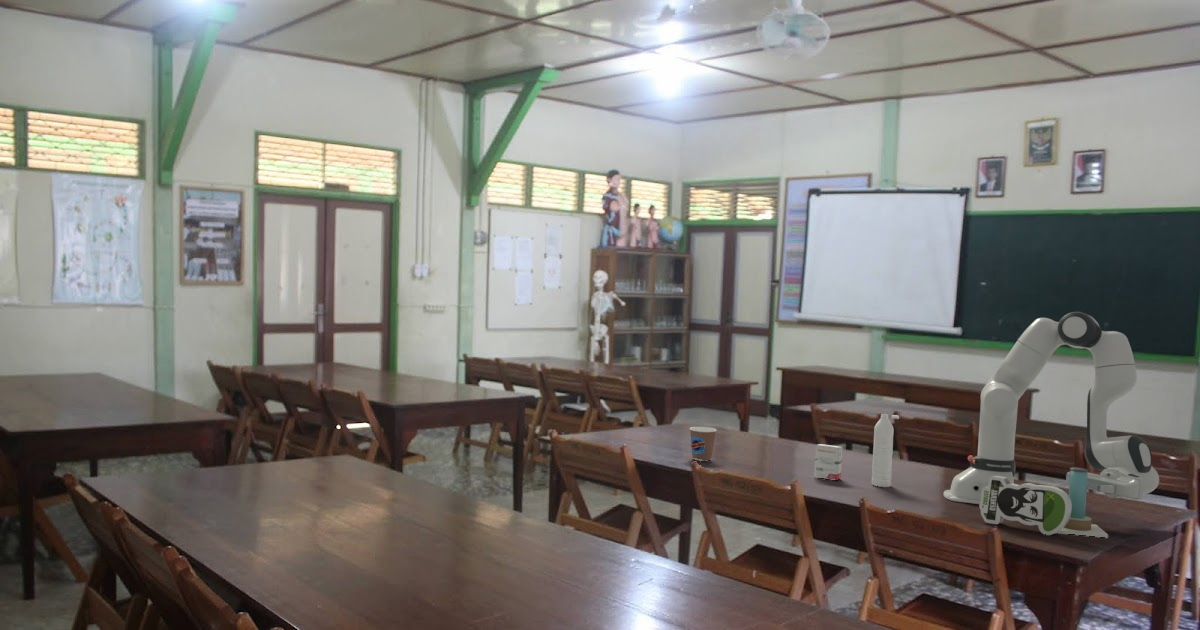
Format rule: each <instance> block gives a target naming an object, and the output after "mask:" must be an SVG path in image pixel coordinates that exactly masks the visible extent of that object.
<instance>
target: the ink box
mask: <svg viewBox="0 0 1200 630" xmlns="http://www.w3.org/2000/svg"><path fill="white" fill-rule="evenodd" d="M814 454H815V455H814V471H813V477H814V476H816V477H822V478H828V479H835V480H838V479H840V478H841V479H842V465H843V446H838V445H830V444H823V443H819V444H818V443H817V444H816V445H815V453H814ZM841 479H840V480H841ZM838 481H839V480H838Z"/></svg>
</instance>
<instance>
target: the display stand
mask: <svg viewBox="0 0 1200 630" xmlns="http://www.w3.org/2000/svg"><path fill="white" fill-rule="evenodd" d="M1092 521H1093V520H1092V517H1089V516H1087V515H1085V518H1084V519H1078V518H1072V517H1070V519H1069V521H1068V523H1067V524H1066V525H1065V526H1064V528H1062V529H1061V530H1060V531H1058V532H1057V533H1058V534H1059V535H1068V534H1075V535H1074V536H1079V535H1086V536H1085V537H1089V536H1095V537H1094V538H1100V537H1105V538H1104V539H1108V538H1109V534H1108V533H1107V532H1105V530H1103V529H1102V527H1100V526H1099V525H1097V524H1093V523H1092ZM1057 533H1056V534H1057Z"/></svg>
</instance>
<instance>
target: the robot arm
mask: <svg viewBox="0 0 1200 630" xmlns="http://www.w3.org/2000/svg"><path fill="white" fill-rule="evenodd" d="M1060 346H1065V347H1069V348H1073V349H1077V350H1088V351H1089V352H1090V353H1091V355H1092V360H1093V364H1094V376H1095V377H1094V381H1093V385H1092V387H1091V388H1090V389H1089V390H1088V393H1087V400H1086V402H1087V403H1086V404H1087V405H1086V406H1087V407H1086V440H1085V445H1084V446H1085V447H1084V451H1083V452H1084V458H1085V460H1086V462H1087V463H1088V464H1089V465H1090V467H1092V468H1093V469H1095V470H1096V471H1099V472H1100V473H1099V474H1097V473H1093V472H1089V471H1088V475H1087V489H1088V490H1093V491H1096V492H1100V493H1102V494H1103V495H1105V496H1106V497H1108V498H1111V499H1117V498H1120V499H1123V498H1124V499H1125V498H1126V499H1133V500H1142V499H1143V495H1147V494H1150V493H1152V492H1153V491H1155V489H1156V490H1157V487H1158V486H1159V484H1160V475H1159V473H1158V471H1157V470H1156V469H1155V468H1154V467H1153V456H1152V455H1153V454H1152V451H1151V448H1150V446H1149V444H1148V442H1146V440H1144V439H1143V438H1142V437H1140V436H1138V435H1136V434H1133V435H1123V436H1122V435H1121V436H1120V435H1119V436H1112V437H1108V436H1107V420H1108V419H1107V412H1108V411H1109V410H1108V409H1109V408H1110V406H1111V405H1112V404H1113V403H1114V402H1115V401H1117V400H1119V399H1120V398H1123V397H1124V396H1126V395H1127V394H1129V393H1130V391H1132V390H1133V389H1134V387H1135V386H1136V384H1137V378H1138V377H1137V368H1136V364H1135V363H1136V362H1135V358H1134V354H1133V351H1132V347H1131V345H1130V342H1129V339H1128V337H1127V336H1126V335H1125V334H1124V333H1122V332H1119V331H1115V330H1112V331H1111V330H1110V331H1109V330H1107V331H1105V330H1102V328H1101V326H1100V324H1099V323H1098V321H1097V320H1096V319H1095V318H1094V317H1093V316H1092V315H1089V314H1088V313H1084V312H1082V311H1072V312H1069V313H1067V314H1065V315H1064V316H1062V317H1061V318H1060V320H1059V321H1055V320H1053V319H1051V318H1047V317H1039V318H1036V319H1034V321H1033V322H1032V323H1031V324H1030V325H1028V327H1027V328H1026V329H1025V330H1024V331H1023V332H1022V334H1021V335H1020V336H1019V337H1018V338H1017V340H1016V342H1015V344H1014V345H1013V347H1012V348H1011V349H1010V351H1009V352H1008V353H1007V355H1006V356H1005V358H1004V359H1003V361H1002V362H1001V364H1000V365H998V367H997V369H996V370H995V371H994V373H993V374H992V375H991V376H990V378H989V379H988V381H987V382H986V384H985V385H984V387H983V388H982V390H981V392H980V409H979V424H978V426H979V427H978V428H979V429H978V442H977V445H978V446H977V455H975V456H974V455H971V454H970V455H968V456H967V460H968V462H970V466H969V467H968V468H967V469H964V470H963V471H962V472H960V473H957V474H956V475H955V476H954V477H953V479H952V482H951V484H950V489H945V490H944V491H943V497H944V498H945V499H947V500H949V501H952V502H959V503H968V504H974V505H975V504H976V505H979V504H980V499H981V491H982V489H983V488H984V487H987V486H988V482H989V478H990V477H992V476H1002V477H1006V478H1007V479H1008V480H1009V482H1010V484H1015V483H1014V482H1015V481H1014V478H1015V475H1016V459H1015V448H1016V447H1015V443H1016V432H1017V431H1016V430H1017V422H1018V420H1017V417H1018V406H1019V400H1020V399H1021V397H1022V396H1023V395H1024V393H1025V392H1026V391H1027V389H1028V388H1029V387H1030V386H1031V384H1032V383H1033V382H1034V381H1035V380H1036V379H1037V377H1038V375H1040V372H1042V370H1043V369H1044V367H1045V366H1046V364H1047V363H1048V361H1049V360H1050V358H1051V357H1052V355H1053V354H1054V353H1055V351H1056V350H1057V349H1058V348H1060ZM1065 477H1066V478H1065V480H1066V481H1065V482H1066V484H1067V485H1069V483H1070V471H1067V473H1066V475H1065Z"/></svg>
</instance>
